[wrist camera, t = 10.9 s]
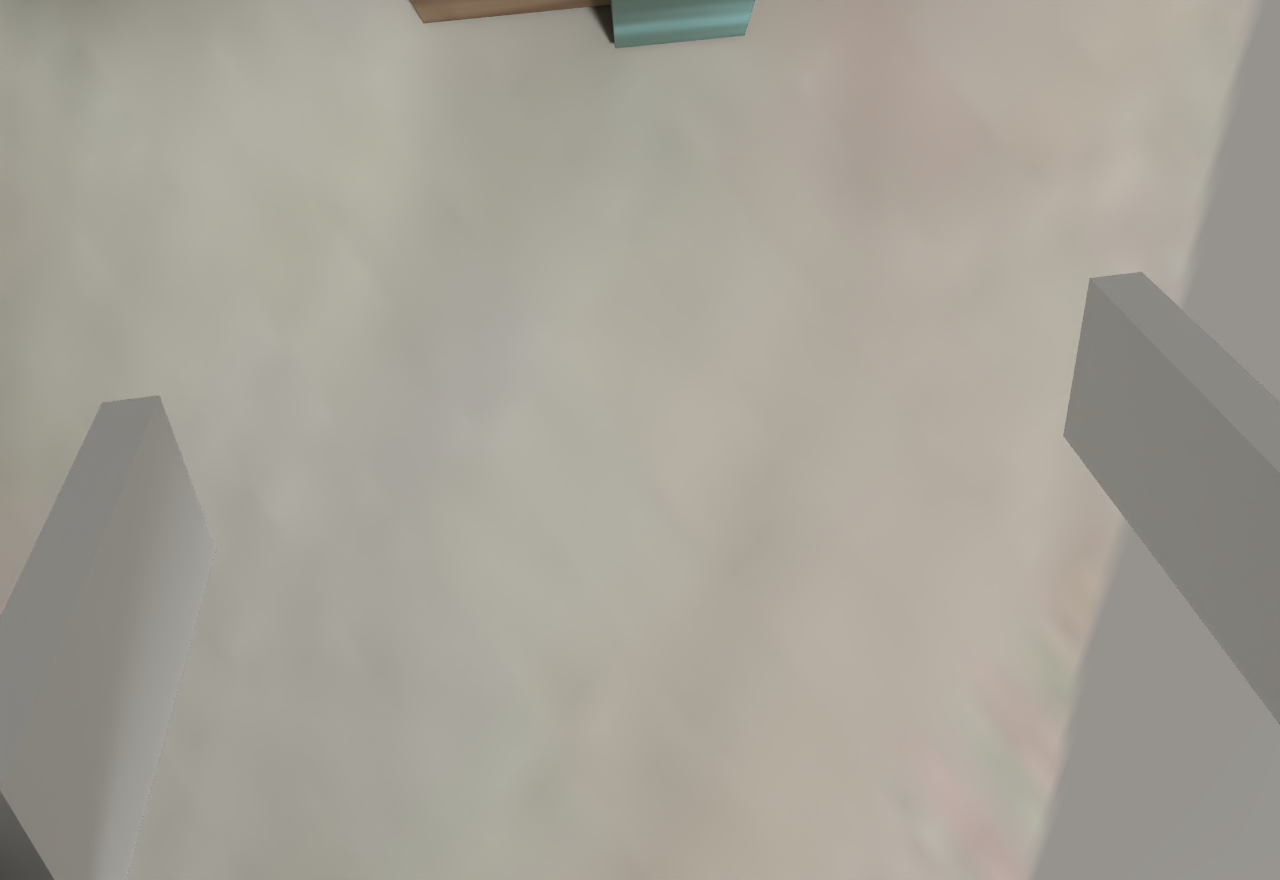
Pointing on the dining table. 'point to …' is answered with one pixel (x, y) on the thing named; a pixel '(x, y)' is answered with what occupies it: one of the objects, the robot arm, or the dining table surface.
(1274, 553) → the robot arm
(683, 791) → the dining table surface
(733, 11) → the brown open boxy piece
